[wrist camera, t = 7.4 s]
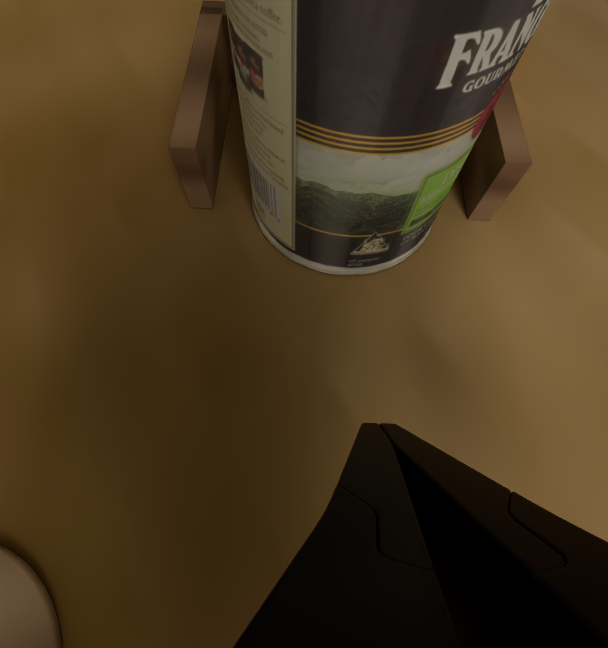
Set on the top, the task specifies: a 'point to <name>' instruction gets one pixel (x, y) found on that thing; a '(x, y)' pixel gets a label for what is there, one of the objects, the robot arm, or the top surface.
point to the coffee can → (365, 115)
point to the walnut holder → (213, 106)
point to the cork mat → (25, 607)
